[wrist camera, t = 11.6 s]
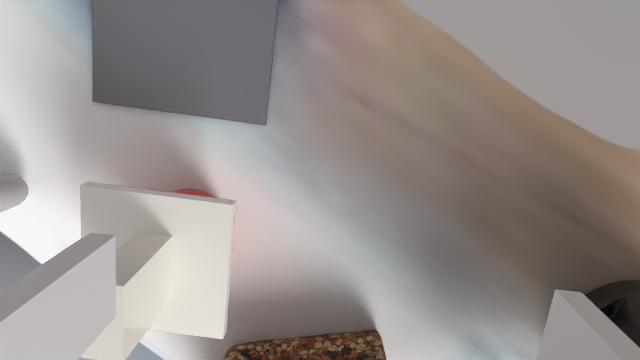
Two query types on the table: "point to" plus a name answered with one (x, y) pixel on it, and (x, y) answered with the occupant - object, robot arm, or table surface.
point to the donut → (12, 191)
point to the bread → (314, 348)
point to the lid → (161, 263)
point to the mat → (185, 56)
